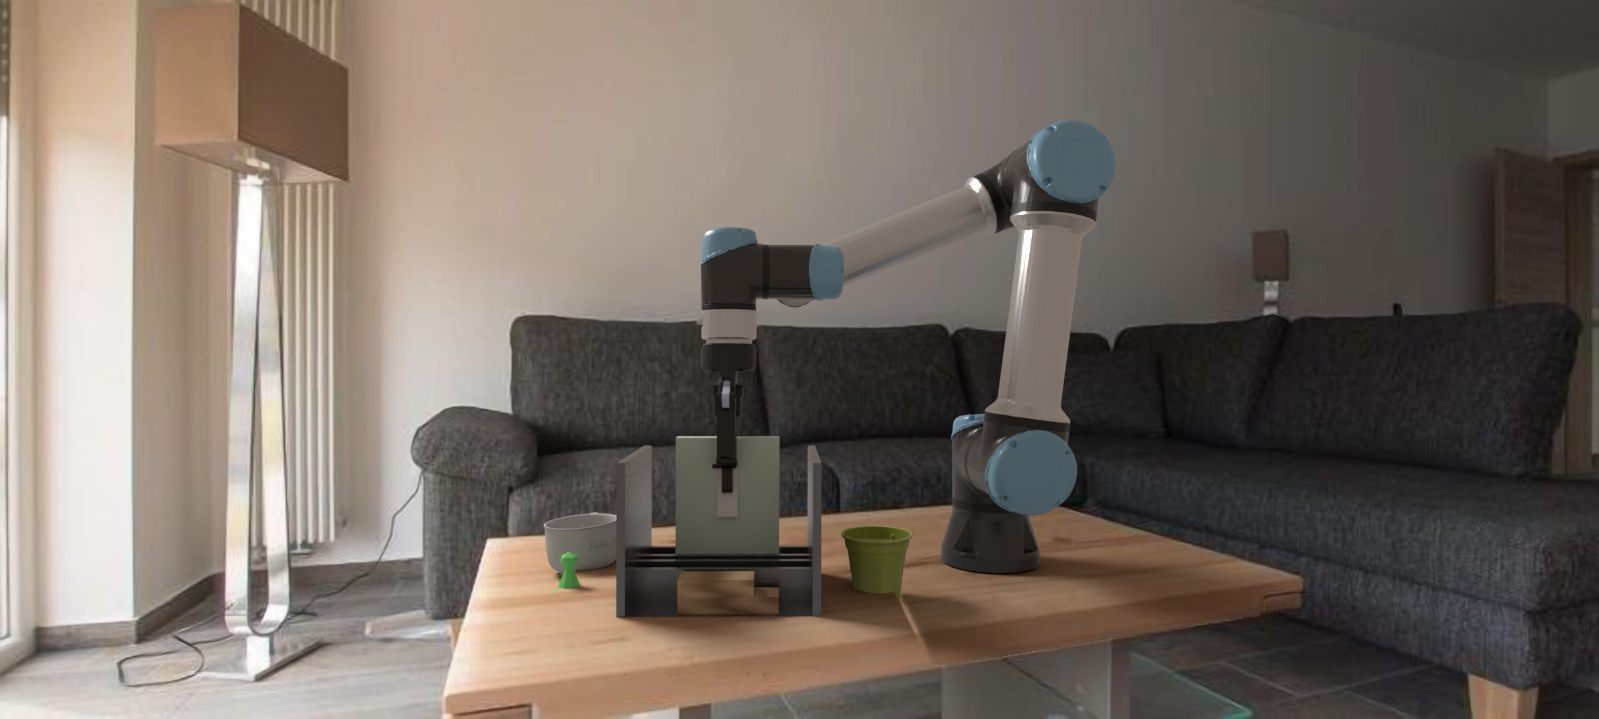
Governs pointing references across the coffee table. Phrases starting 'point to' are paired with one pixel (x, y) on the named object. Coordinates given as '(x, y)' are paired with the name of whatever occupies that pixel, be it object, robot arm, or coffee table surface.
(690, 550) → the sage panel
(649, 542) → the rack
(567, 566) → the game piece
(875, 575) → the plant pot
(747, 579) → the offcut upper
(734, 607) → the offcut lower
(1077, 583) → the coffee table surface
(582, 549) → the teacup
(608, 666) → the coffee table surface
